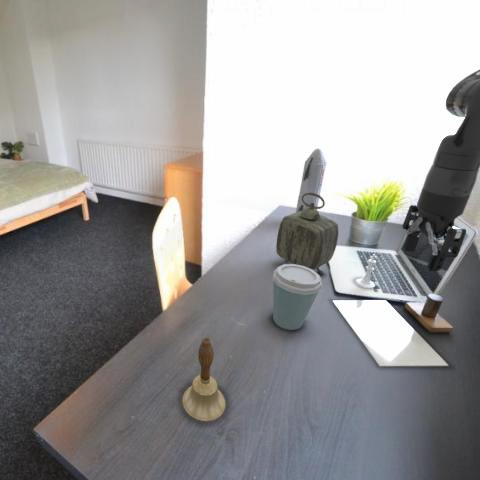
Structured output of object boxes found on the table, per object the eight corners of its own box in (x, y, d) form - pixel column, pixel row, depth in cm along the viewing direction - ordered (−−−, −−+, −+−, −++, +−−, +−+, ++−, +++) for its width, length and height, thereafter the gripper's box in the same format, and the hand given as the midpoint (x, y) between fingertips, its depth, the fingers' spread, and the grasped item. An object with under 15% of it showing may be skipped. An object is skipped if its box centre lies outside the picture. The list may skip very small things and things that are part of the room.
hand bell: (226, 427, 58) (233, 361, 51) (179, 420, 60) (179, 355, 52) (226, 387, 66) (232, 324, 58) (184, 382, 67) (185, 320, 60)
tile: (384, 302, 88) (385, 299, 88) (447, 368, 69) (449, 365, 68) (331, 302, 89) (332, 300, 88) (378, 368, 69) (379, 365, 69)
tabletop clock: (328, 276, 100) (348, 197, 88) (310, 286, 95) (328, 204, 84) (287, 257, 111) (300, 184, 99) (269, 265, 106) (281, 190, 95)
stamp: (402, 310, 85) (411, 285, 82) (421, 310, 85) (431, 285, 82) (428, 336, 77) (440, 310, 74) (449, 336, 77) (462, 310, 73)
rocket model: (300, 232, 127) (315, 153, 113) (284, 226, 132) (297, 149, 118) (321, 223, 134) (338, 147, 120) (305, 218, 139) (319, 144, 126)
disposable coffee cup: (273, 304, 88) (281, 255, 82) (316, 319, 83) (329, 268, 76) (259, 327, 81) (266, 275, 74) (305, 345, 75) (318, 291, 68)
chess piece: (378, 290, 93) (388, 259, 89) (360, 290, 93) (370, 259, 89) (368, 280, 98) (378, 250, 93) (351, 280, 98) (360, 250, 93)
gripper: (496, 201, 59) (461, 278, 66) (442, 178, 72) (418, 245, 79) (451, 201, 60) (421, 277, 67) (405, 178, 72) (384, 244, 80)
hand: (419, 259), depth 73 cm, fingers open, 8 cm apart
